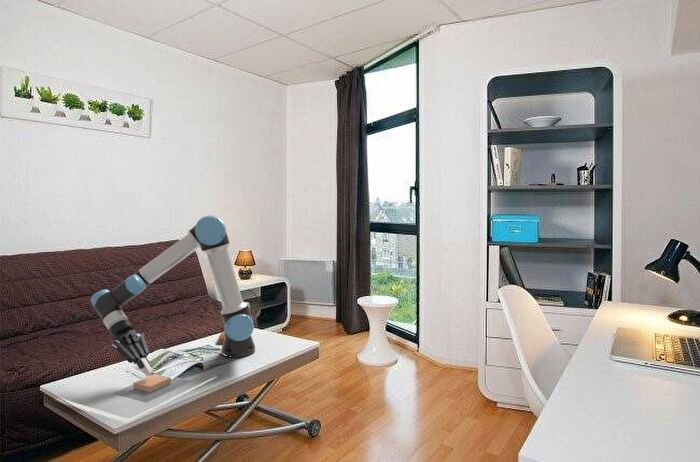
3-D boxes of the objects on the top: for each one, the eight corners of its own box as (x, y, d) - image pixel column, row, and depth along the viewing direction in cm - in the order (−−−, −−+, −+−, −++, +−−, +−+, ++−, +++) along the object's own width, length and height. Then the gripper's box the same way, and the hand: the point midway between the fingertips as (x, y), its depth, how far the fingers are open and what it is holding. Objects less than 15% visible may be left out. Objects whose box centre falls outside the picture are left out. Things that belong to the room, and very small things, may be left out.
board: (112, 395, 153) (112, 393, 153) (159, 375, 171) (159, 373, 171) (147, 405, 145) (146, 402, 145) (192, 383, 163) (192, 380, 163)
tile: (133, 382, 156) (149, 386, 152) (154, 374, 164) (170, 377, 160) (133, 388, 156) (150, 393, 152) (154, 379, 164) (171, 383, 160)
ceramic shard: (248, 324, 227) (250, 336, 212) (247, 335, 228) (248, 348, 213) (219, 323, 222) (219, 335, 208) (218, 335, 223) (217, 348, 209)
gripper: (129, 326, 172) (160, 373, 165) (98, 335, 160) (129, 386, 154) (137, 314, 169) (169, 362, 163) (106, 322, 158) (138, 374, 151)
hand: (149, 373), depth 158 cm, fingers closed
